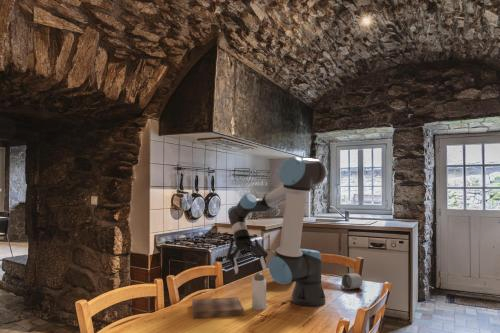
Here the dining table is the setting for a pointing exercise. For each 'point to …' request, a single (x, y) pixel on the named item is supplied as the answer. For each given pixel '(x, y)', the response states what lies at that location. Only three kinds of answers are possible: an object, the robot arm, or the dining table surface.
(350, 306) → the dining table surface
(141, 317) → the dining table surface
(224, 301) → the walnut board
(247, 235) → the robot arm
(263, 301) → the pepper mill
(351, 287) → the ceramic mug
